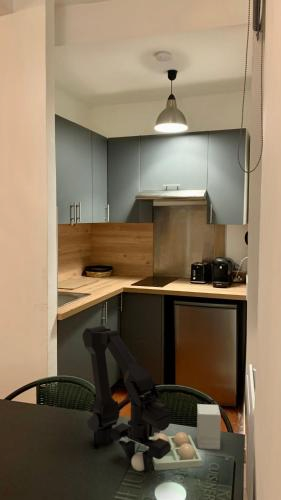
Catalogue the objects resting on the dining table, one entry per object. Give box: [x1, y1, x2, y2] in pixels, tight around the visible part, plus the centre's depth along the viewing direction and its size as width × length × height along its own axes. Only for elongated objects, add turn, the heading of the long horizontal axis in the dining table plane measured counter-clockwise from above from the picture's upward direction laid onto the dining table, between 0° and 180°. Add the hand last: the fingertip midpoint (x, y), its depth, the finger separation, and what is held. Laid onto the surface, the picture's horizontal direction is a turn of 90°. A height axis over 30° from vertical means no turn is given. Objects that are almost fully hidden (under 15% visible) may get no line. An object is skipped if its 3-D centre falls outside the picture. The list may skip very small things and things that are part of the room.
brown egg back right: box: [174, 431, 189, 448], centre depth 130 cm, size 5×5×5 cm
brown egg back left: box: [153, 432, 169, 442], centre depth 130 cm, size 5×5×5 cm
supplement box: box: [196, 403, 222, 450], centre depth 134 cm, size 7×7×13 cm
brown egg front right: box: [179, 443, 195, 460], centre depth 124 cm, size 5×5×5 cm
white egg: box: [130, 451, 145, 472], centre depth 120 cm, size 5×5×5 cm
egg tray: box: [149, 434, 203, 471], centre depth 127 cm, size 14×14×3 cm
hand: (139, 467), depth 120 cm, fingers closed on white egg, 5 cm apart
